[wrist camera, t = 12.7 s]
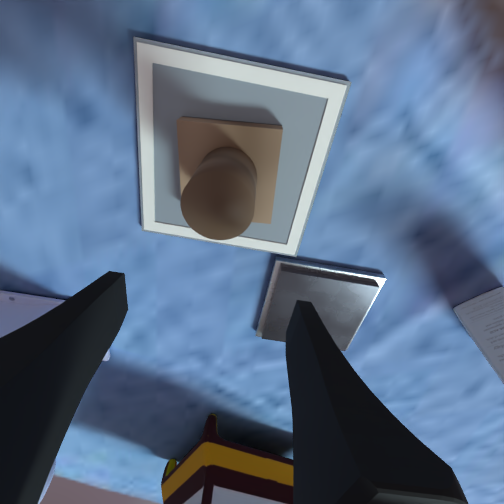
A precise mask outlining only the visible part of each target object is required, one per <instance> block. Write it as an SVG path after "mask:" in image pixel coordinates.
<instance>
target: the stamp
mask: <svg viewBox="0 0 504 504" xmlns="http://www.w3.org/2000/svg"><path fill="white" fill-rule="evenodd" d="M176 122H177V138H178V154H179V170H180V186H181V201H180V206H181V211H182V216H183V217H184V219H185V221H186V222H187V224H188V225H189V226H190V227H191V228H192V229H193V230H194V231H195V232H196V233H198V234H200V235H201V236H203V237H206V238H209V239H213V240H228V239H232V238H235V237H237V236H239V235H240V234H242V233H243V232H244V231H245V230H246V229H247V228H248V227H249V225H250V224H251V222H254V223H265V224H271V219H272V211H273V204H274V196H275V188H276V180H277V172H278V164H279V157H280V149H281V141H282V133H283V128H282V125H276V124H265V123H254V122H243V121H232V120H221V119H210V118H200V117H189V116H182V117H180V118H179V119H177V120H176Z"/></svg>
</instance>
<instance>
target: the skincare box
mask: <svg viewBox="0 0 504 504" xmlns="http://www.w3.org/2000/svg"><path fill="white" fill-rule="evenodd" d="M453 310H454V312H455V314H456V315H457V317H458V318H459V320H460V321H461V323H462V324H463V326H464V327H465V329H466V330H467V332H468V334H469V335H470V336H471V338H472V339H473V341H474V342H475V344H476V345H477V347H478V348H479V350H480V351H481V352H482V354H483V355H484V357H485V358H486V360H487V361H488V362H489V364H490V365H491V367H492V368H493V370H494V371H495V372H496V374H497V375H498V377H499V378H500V380H501V381H502V383H503V384H504V287H499V288H496V289H494V290H491V291H489V292H486V293H484V294H481V295H479V296H477V297H475V298H472V299H470V300H468V301H466V302H464V303H462V304H460V305H458V306H456V307H455V308H454V309H453Z"/></svg>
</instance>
